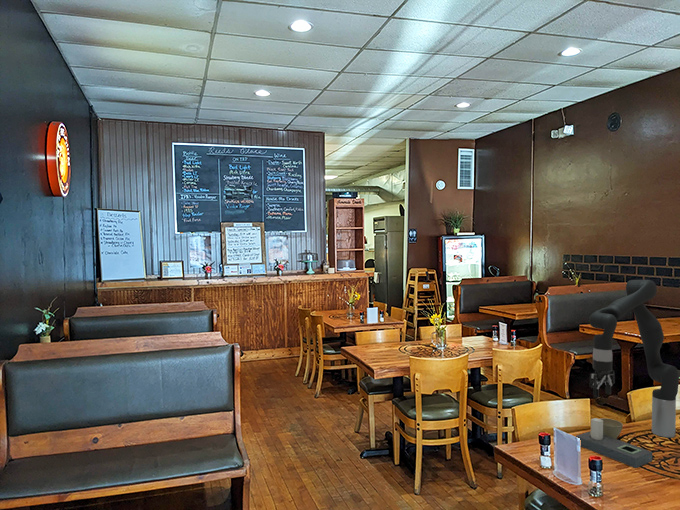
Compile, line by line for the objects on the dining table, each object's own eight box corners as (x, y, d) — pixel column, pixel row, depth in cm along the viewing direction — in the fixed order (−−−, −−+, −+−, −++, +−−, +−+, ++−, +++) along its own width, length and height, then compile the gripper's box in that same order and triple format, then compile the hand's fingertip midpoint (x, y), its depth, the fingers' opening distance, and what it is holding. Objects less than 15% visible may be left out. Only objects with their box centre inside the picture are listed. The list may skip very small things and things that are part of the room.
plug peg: (593, 443, 214) (593, 417, 214) (602, 447, 211) (603, 420, 210) (588, 445, 213) (589, 418, 212) (598, 448, 209) (598, 421, 209)
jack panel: (592, 439, 220) (592, 430, 219) (652, 461, 197) (652, 451, 197) (575, 444, 214) (575, 435, 214) (635, 468, 191) (635, 457, 191)
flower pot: (597, 439, 219) (598, 423, 219) (597, 431, 228) (597, 416, 228) (623, 443, 215) (623, 427, 215) (621, 435, 224) (622, 420, 223)
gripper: (604, 355, 215) (603, 391, 215) (584, 358, 208) (583, 395, 208) (620, 358, 208) (620, 395, 209) (600, 362, 201) (600, 400, 202)
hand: (602, 395), depth 209 cm, fingers open, 8 cm apart
